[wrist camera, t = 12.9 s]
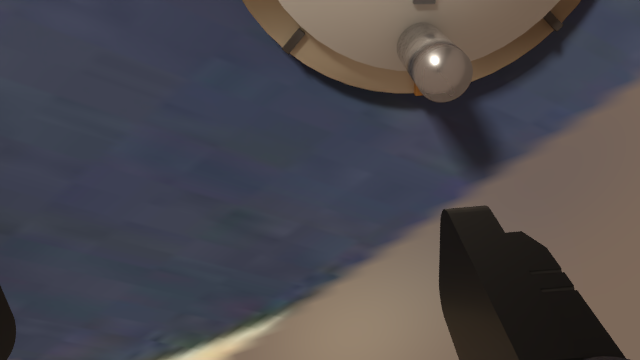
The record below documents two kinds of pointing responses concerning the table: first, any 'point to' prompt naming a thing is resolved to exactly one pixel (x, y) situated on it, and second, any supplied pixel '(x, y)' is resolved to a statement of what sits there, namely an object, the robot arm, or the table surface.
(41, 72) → the table surface
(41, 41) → the table surface
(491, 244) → the robot arm
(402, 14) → the dial
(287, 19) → the dial base
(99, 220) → the table surface
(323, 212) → the table surface
